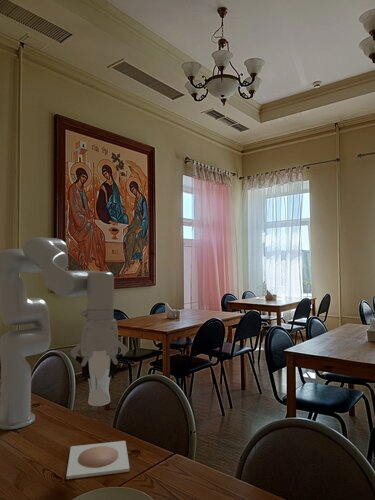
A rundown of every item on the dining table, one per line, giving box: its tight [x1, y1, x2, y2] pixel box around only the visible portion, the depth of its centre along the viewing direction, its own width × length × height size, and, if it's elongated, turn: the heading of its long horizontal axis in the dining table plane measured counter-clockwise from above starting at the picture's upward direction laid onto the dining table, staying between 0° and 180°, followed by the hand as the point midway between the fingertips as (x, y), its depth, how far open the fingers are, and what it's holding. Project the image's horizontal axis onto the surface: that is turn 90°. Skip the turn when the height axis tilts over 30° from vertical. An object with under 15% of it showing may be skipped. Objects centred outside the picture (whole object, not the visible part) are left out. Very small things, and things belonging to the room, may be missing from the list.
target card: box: [65, 440, 131, 480], centre depth 105 cm, size 16×16×1 cm
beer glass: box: [87, 350, 112, 407], centre depth 106 cm, size 7×7×15 cm
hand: (99, 377), depth 106 cm, fingers closed on beer glass, 6 cm apart
